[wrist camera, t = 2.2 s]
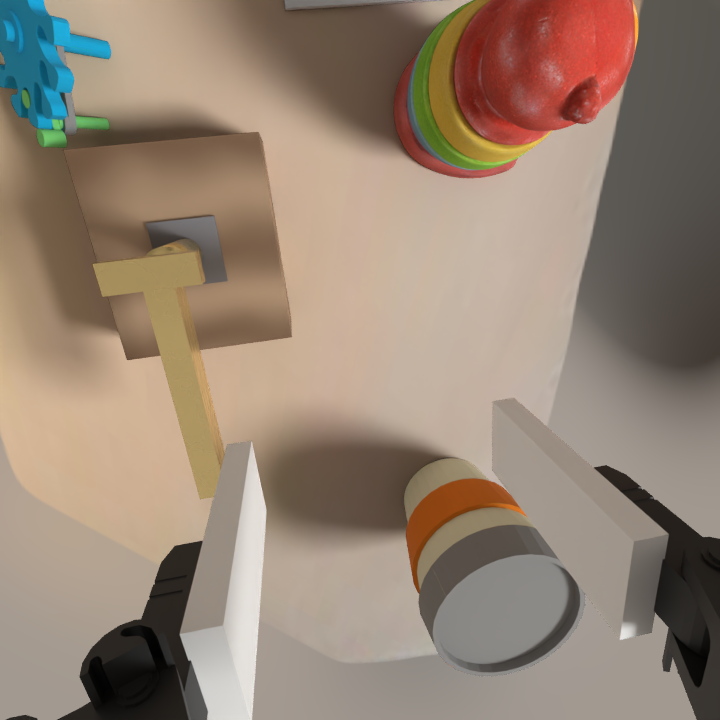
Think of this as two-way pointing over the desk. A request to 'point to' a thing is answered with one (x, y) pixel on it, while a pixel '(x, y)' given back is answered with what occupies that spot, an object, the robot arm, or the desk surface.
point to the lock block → (189, 231)
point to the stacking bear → (510, 79)
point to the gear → (44, 69)
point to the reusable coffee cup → (484, 573)
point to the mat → (339, 3)
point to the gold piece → (175, 344)
